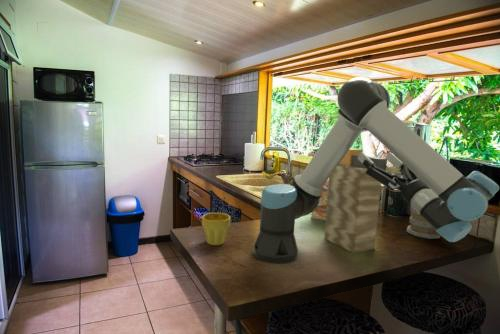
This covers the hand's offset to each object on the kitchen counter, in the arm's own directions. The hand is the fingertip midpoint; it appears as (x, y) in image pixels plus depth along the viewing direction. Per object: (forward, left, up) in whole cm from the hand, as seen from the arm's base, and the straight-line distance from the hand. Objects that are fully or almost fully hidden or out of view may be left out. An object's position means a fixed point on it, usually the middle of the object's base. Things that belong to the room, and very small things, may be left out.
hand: (374, 155), depth 114 cm
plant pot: (-47, -27, -35) cm, 65 cm away
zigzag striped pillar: (-7, +4, -35) cm, 36 cm away
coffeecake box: (-25, +31, -35) cm, 53 cm away
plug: (-5, +3, -5) cm, 8 cm away
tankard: (+18, +35, -35) cm, 53 cm away
